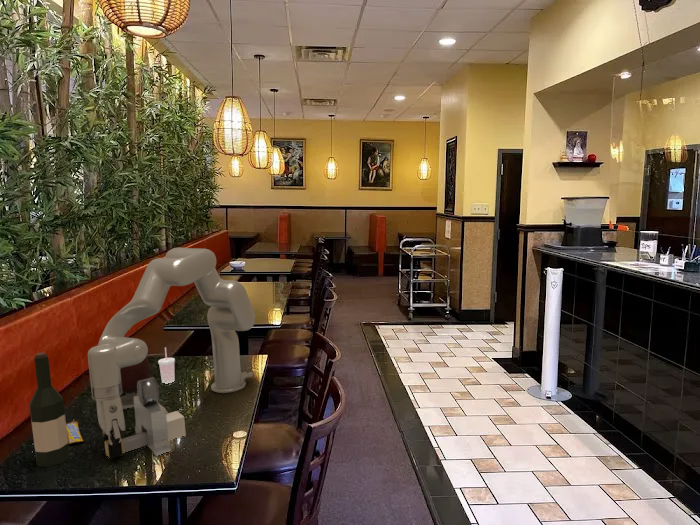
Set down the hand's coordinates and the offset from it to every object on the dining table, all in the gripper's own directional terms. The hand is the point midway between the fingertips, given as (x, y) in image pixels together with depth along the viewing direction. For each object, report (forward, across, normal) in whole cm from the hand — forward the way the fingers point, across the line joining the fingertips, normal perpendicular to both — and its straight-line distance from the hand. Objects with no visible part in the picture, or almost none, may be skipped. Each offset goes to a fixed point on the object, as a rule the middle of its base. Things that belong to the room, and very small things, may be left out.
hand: (113, 452), depth 142 cm
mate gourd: (+1, +37, -15) cm, 40 cm away
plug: (+1, 0, -9) cm, 9 cm away
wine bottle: (+1, +9, +13) cm, 16 cm away
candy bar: (+1, +22, +6) cm, 23 cm away
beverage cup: (+1, +46, -32) cm, 56 cm away
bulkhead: (+1, 0, -11) cm, 11 cm away
